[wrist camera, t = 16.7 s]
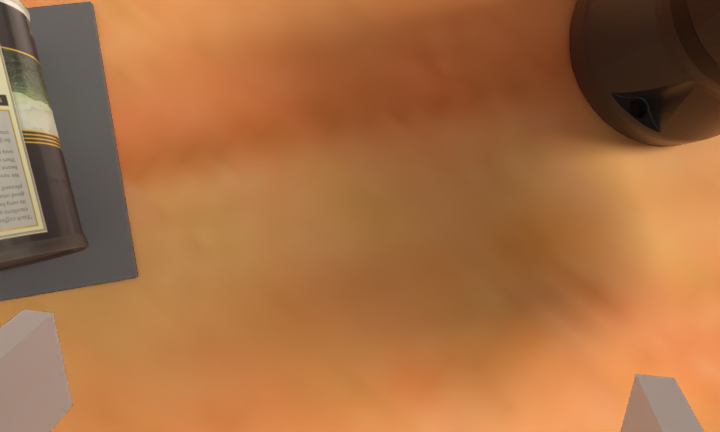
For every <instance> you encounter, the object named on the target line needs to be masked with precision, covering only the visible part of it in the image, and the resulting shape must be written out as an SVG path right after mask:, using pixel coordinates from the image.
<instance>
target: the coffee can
mask: <svg viewBox="0 0 720 432" xmlns="http://www.w3.org/2000/svg"><path fill="white" fill-rule="evenodd" d="M88 247H89V244H88V241H87V238H86V236H85V235H84V233H83V230H82V226H81V222H80V219H79V215H78V211H77V207H76V203H75V199H74V195H73V191H72V188H71V183H70V180H69V175H68V171H67V167H66V164H65V160H64V156H63V152H62V148H61V144H60V140H59V136H58V132H57V128H56V124H55V120H54V116H53V112H52V108H51V105H50V101H49V97H48V93H47V89H46V85H45V80H44V77H43V73H42V69H41V65H40V61H39V57H38V53H37V49H36V45H35V41H34V37H33V34H32V30H31V25H30V14H29V11H28V9H27V8H26V7H25V6H24V4H23V3H21V2H20V1H19V0H0V272H1V271H5V270H9V269H13V268H17V267H22V266H26V265H30V264H34V263H38V262H42V261H46V260H50V259H54V258H58V257H62V256H66V255H69V254H73V253H76V252H79V251H82V250H85V249H86V248H88Z"/></svg>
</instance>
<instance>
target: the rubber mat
mask: <svg viewBox="0 0 720 432" xmlns="http://www.w3.org/2000/svg"><path fill="white" fill-rule="evenodd" d="M27 9H28V11H29V14H30V25H31V30H32V34H33V37H34V41H35V45H36V49H37V53H38V57H39V61H40V65H41V69H42V73H43V77H44V80H45V85H46V89H47V93H48V97H49V101H50V105H51V108H52V112H53V116H54V120H55V124H56V128H57V132H58V136H59V140H60V144H61V148H62V152H63V156H64V160H65V164H66V167H67V171H68V175H69V180H70V183H71V188H72V191H73V195H74V199H75V203H76V207H77V211H78V215H79V219H80V222H81V226H82V230H83V233H84V235H85V236H86V238H87V241H88V244H89V247H88V248H86V249H85V250H82V251H79V252H76V253H73V254H69V255H66V256H62V257H58V258H54V259H50V260H46V261H42V262H38V263H34V264H30V265H26V266H22V267H17V268H13V269H9V270H5V271H1V272H0V301H2V300H8V299H14V298H20V297H26V296H32V295H38V294H43V293H49V292H55V291H61V290H67V289H73V288H79V287H84V286H90V285H96V284H102V283H108V282H114V281H120V280H125V279H131V278H137V277H138V272H137V266H136V260H135V254H134V248H133V242H132V236H131V230H130V224H129V218H128V212H127V206H126V200H125V194H124V188H123V182H122V176H121V170H120V163H119V157H118V151H117V145H116V139H115V133H114V127H113V121H112V115H111V109H110V103H109V97H108V91H107V85H106V79H105V73H104V67H103V61H102V55H101V49H100V43H99V37H98V31H97V25H96V19H95V13H94V7H93V4H92V3H91V2H82V3H73V4H63V5H53V6H43V7H34V8H27Z"/></svg>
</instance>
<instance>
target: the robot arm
mask: <svg viewBox="0 0 720 432" xmlns="http://www.w3.org/2000/svg"><path fill="white" fill-rule="evenodd" d="M570 51H571V59H572V64H573V68H574V72H575V75H576V78H577V80H578V83H579V85H580V87H581V89H582V91H583V93H584V95H585V97H586V98H587V100H588V102H589V103H590V104H591V106H592V107H593V108H594V110H595V111H596V112H597V113H598V114H599V115H600V116H601V118H602V119H604V120H605V121H606V122H607V123H608V124H609V125H610V126H612V127H613V128H614V129H616V130H617V131H619V132H620V133H622V134H624V135H626V136H628V137H630V138H632V139H635V140H637V141H640V142H643V143H647V144H652V145H659V146H674V145H681V144H686V143H691V142H696V141H701V140H705V139H709V138H712V137H714V136H717V135H719V134H720V0H578V1H577V4H576V6H575V10H574V13H573V17H572V22H571V30H570ZM72 405H73V404H72V399H71V395H70V390H69V385H68V380H67V376H66V371H65V366H64V361H63V357H62V352H61V347H60V343H59V338H58V333H57V328H56V324H55V319H54V314H53V313H52V312H42V311H33V310H22V311H21V312H19V313H18V314H17V315H16V316H14V317H13V318H12V319H11V320H9V321H8V322H7V323H6V324H4V325H3V326H2V327H1V328H0V432H50V431H51V430H52V429H53V428H54V427H55V425H56V424H57V423H58V422H59V421H60V420H61V418H62V417H63V416H64V415H65V414H66V412H67V411H68V410H69V409H70V408H71V407H72ZM620 432H704V430H703V429H702V427H701V425H700V423H699V422H698V420H697V418H696V416H695V414H694V413H693V411H692V409H691V407H690V405H689V404H688V402H687V400H686V398H685V396H684V395H683V393H682V391H681V389H680V388H679V386H678V384H677V382H676V380H675V379H674V378H669V377H659V376H650V375H640V374H636V375H635V379H634V383H633V386H632V390H631V394H630V398H629V401H628V405H627V409H626V413H625V416H624V420H623V424H622V428H621V431H620Z"/></svg>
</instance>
